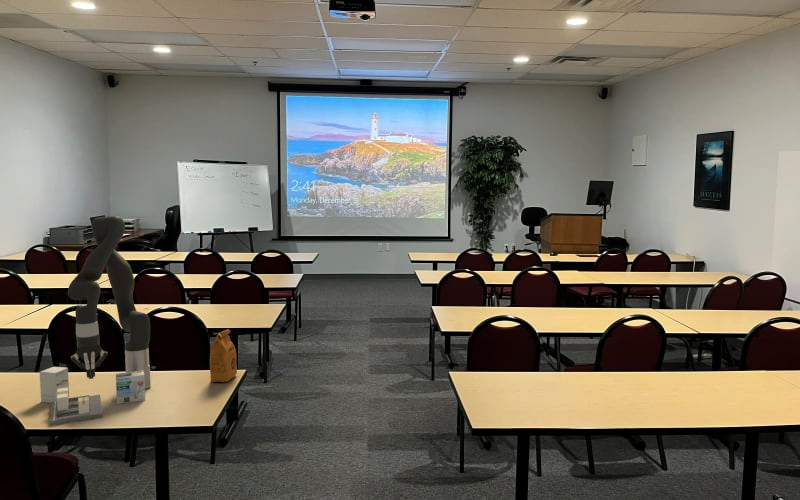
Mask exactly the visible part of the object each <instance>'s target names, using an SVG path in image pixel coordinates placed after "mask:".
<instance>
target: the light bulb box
mask: <svg viewBox="0 0 800 500" xmlns="http://www.w3.org/2000/svg"><path fill="white" fill-rule="evenodd" d="M115 387H116V388H115V395H116V404H117V405H120V404H127V403H135V402H143V401H146V389H145V378H144V371H143V370H142V371H135V372H127V373H126V372H121V373H116V374H115Z"/></svg>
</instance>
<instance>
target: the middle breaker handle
mask: <svg viewBox="0 0 800 500" xmlns="http://www.w3.org/2000/svg"><path fill="white" fill-rule="evenodd" d="M68 398H69V397H68V393H67V394H60V395H57V407H58V411H60V410H67V409H68Z"/></svg>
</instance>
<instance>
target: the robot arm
mask: <svg viewBox="0 0 800 500" xmlns="http://www.w3.org/2000/svg"><path fill="white" fill-rule="evenodd" d="M91 228H92V233H93V236H94V239H95V241H96V244H97V247H95V249H93V250H92V251H91V253H89V255H88V256H87V257H86V259H85V260H84V261H85V262H84V263H83V266H82V268H81V270H80V271H79V273H78V274H77V275H76V276H75V278H73V280H72V281H71V282H70V284H69V286H68V288H67V294H68V297H69V298H70V299H71V300H74V301H87V302H86V305H85V304H84V305H81V306H78V307H77V308H75V336H76V346H77V349H76V350H75V353H74V354H73V355H71V356H70V361H72V362H73V363H74V364H75V365H77V367H78V368H79V369H81V370H83V369H84V370H85V372H86V378H88V380H92V379H93V380H94V378H95V377H96V368H99V367H100V366H101V365H102V363H103V362H104V360H105V359H106V358H107V356H108V355H109V354H108V351H105V350H103V347H102V346H101V343H100V341H101V339H100V330H99V329H100V328H99V323H98V313H97V312H98V311H97V310H98V305H99V304H98V303H99V298H100V296H101V285H100V284H99V283H98V281H99V280H100V279H101V277H102V276H103V273H104V270H106V274H107V278H108V281H109V284H110V286H111V289H112V294H113V298H114V300H115V305H116V309H117V315H118V320H119V322H118V323H119V324H120V327H121V329H122V330H123V331H125V332H127V333H129V340H128V341H126V342H125V344H124V355H125V356H124V357H125V361H124V362H125V373H127V372H135V371H142V370H143V371H144V378H145V390H147V389H150V388H151V387H152V386H151V366H150V354H149V353H150V352H149V350H150V349H149V344H150V341H151V320H150V317H149V315H148V314H147V313H145V312H141V311H137V309H136V306H135V303H134V299H133V297H134V296H133V294H134V289H135V277H134V273H133V270H132V267H131V265H130V264H129V262H128V261H127V260H126V259H125V258H124V257H123V256H122V255H121V254H119V252H118V251H117V250H116V248H117V246H118V244H119V243H120V241H121V240H122V238H123V236H124V234H125V232H126V224H125V221H124V219H123V218H122V217H121V216H118V215H110V216H109V215H108V216H100V217H95V218H94V219H93V220H92V223H91ZM99 356H100V357H99ZM98 357H99V359H98V360H97V361H96V359H97V358H98ZM79 358H80V359H81V360H82V361H84V363H83V362H81V360H79ZM95 361H96V362H95Z"/></svg>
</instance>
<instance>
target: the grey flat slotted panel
mask: <svg viewBox="0 0 800 500" xmlns="http://www.w3.org/2000/svg"><path fill="white" fill-rule="evenodd" d="M82 397H89V410H90V413H85V414H79V404H78V398H82ZM68 399H69V400H68V409H67V410H60V411H58V407H57V401H53V402H52V403H51V410H50V420H49V424H50V426H51V427H52V426H55V425H63V424H68V423H75V422H80V421H86V420H93V419H98V418H99V417H100V418H104V417H103V409H102V401H101V400H102V399H101V394H95V395H90V394H88V395H87V394H86V395H80V396H74V397H73V396H72V397H68Z"/></svg>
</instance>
